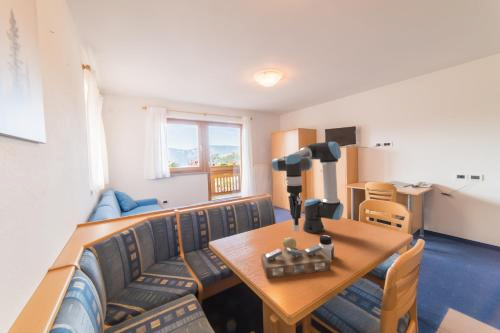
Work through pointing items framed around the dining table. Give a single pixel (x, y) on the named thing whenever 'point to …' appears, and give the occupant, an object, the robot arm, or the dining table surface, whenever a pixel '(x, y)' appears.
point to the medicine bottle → (327, 246)
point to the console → (295, 264)
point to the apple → (289, 243)
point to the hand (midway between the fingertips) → (295, 230)
